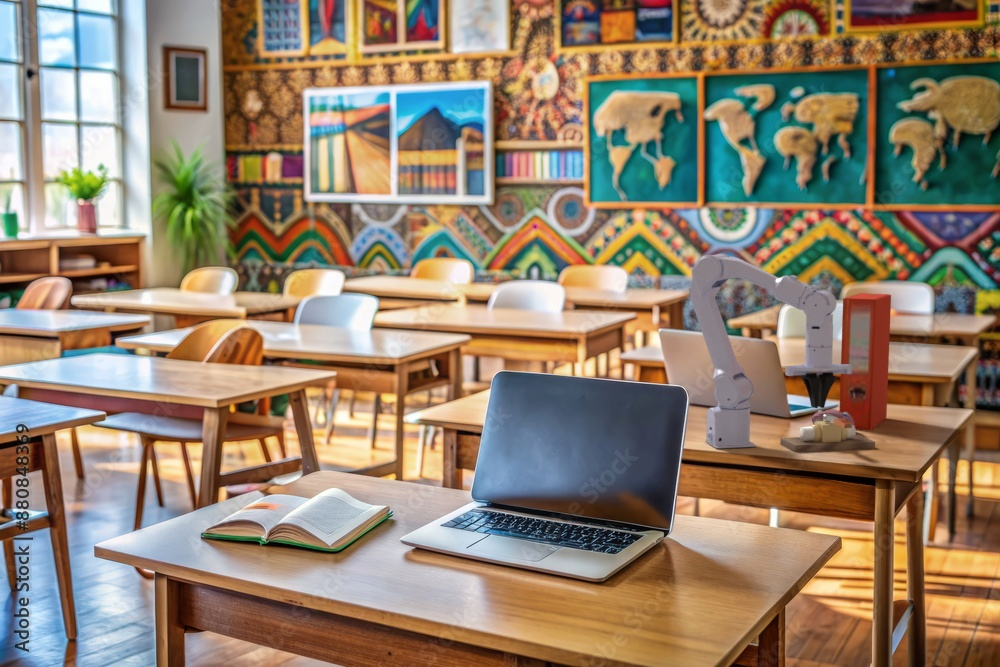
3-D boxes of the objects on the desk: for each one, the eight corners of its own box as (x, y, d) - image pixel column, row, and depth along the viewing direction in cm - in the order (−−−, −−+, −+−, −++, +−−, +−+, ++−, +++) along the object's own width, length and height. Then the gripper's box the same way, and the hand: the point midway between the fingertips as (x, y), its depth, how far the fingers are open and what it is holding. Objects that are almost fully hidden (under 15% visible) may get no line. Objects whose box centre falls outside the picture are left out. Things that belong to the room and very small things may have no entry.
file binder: (887, 418, 278) (891, 294, 274) (872, 430, 263) (876, 299, 260) (855, 415, 282) (858, 293, 278) (838, 427, 267) (841, 298, 264)
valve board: (794, 452, 241) (794, 445, 240) (780, 444, 248) (780, 438, 248) (875, 448, 243) (875, 441, 243) (858, 440, 251) (858, 434, 251)
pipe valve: (806, 445, 243) (806, 425, 242) (798, 441, 247) (798, 422, 247) (856, 442, 244) (857, 423, 244) (847, 438, 249) (848, 420, 248)
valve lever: (821, 420, 246) (821, 413, 246) (829, 420, 246) (830, 413, 246) (843, 430, 235) (843, 423, 235) (852, 429, 236) (852, 422, 235)
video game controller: (811, 437, 263) (809, 414, 260) (815, 426, 266) (813, 403, 263) (853, 441, 259) (852, 417, 255) (856, 429, 262) (855, 406, 258)
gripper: (794, 349, 231) (793, 411, 233) (858, 347, 233) (857, 409, 235) (781, 345, 238) (780, 405, 240) (843, 343, 240) (842, 403, 242)
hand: (817, 407), depth 238 cm, fingers closed
